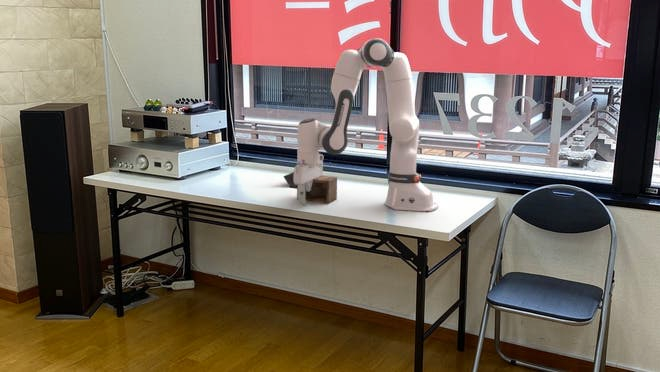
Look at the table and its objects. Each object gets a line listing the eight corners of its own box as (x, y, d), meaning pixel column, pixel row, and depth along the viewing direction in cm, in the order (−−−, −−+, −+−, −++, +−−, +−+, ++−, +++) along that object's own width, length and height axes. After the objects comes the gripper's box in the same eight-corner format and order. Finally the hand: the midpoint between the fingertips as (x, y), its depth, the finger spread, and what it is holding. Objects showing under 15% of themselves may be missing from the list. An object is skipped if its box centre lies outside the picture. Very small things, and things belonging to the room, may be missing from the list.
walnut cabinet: (336, 199, 280) (337, 177, 277) (328, 203, 271) (329, 181, 269) (305, 195, 285) (305, 174, 283) (297, 200, 277) (297, 177, 275)
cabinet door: (305, 205, 264) (305, 185, 263) (301, 206, 264) (301, 185, 262) (299, 198, 276) (299, 179, 274) (295, 199, 276) (295, 179, 274)
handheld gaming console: (305, 185, 299) (293, 168, 299) (293, 194, 300) (281, 176, 301) (311, 184, 310) (300, 167, 311) (300, 192, 311) (289, 175, 312)
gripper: (303, 163, 252) (303, 197, 255) (325, 155, 270) (325, 186, 273) (289, 162, 255) (289, 195, 258) (312, 154, 273) (312, 185, 276)
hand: (308, 191), depth 266 cm, fingers closed
